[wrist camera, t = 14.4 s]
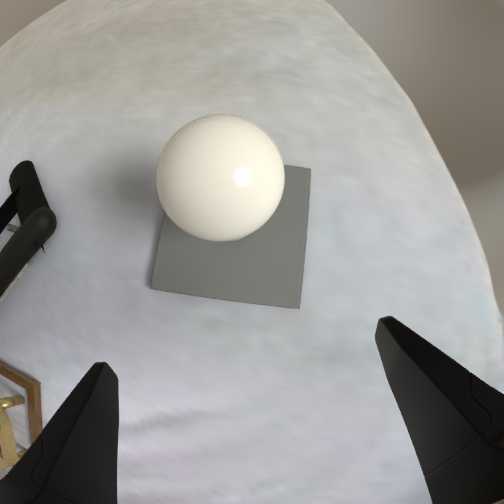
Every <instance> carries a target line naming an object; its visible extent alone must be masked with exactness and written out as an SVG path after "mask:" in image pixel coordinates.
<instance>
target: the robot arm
mask: <svg viewBox="0 0 504 504" xmlns="http://www.w3.org/2000/svg"><path fill="white" fill-rule="evenodd" d="M375 341H376V344H377V347H378V350H379V354H380V357H381V360H382V363H383V367H384V370H385V374H386V377H387V380H388V382H389V385H390V387H391V390H392V392H393V395H394V397H395V399H396V402H397V404H398V407H399V409H400V412H401V414H402V417H403V419H404V422H405V424H406V427H407V430H408V432H409V435H410V438H411V440H412V443H413V446H414V448H415V451H416V454H417V457H418V460H419V463H420V465H421V468H422V471H423V474H424V476H425V477H424V478H425V481H426V484H427V487H428V490H429V493H430V496H431V500H432V503H433V504H504V394H503V393H501V392H499V391H498V390H496V389H494V388H493V387H491V386H489V385H488V384H487V383H485V382H484V381H482V380H481V379H479V378H478V377H477V376H475V375H474V374H473V373H471V372H469V371H468V370H467V369H466V368H464V367H463V366H461V365H460V364H459V363H457V362H456V361H455V360H453V359H452V358H450V357H449V356H448V355H446V354H445V353H444V352H442V351H441V350H439V349H438V348H437V347H435V346H434V345H432V344H431V343H430V342H428V341H427V340H425V339H424V338H422V337H421V336H420V335H418V334H417V333H415V332H414V331H413V330H411V329H410V328H408V327H407V326H405V325H404V324H403V323H401V322H400V321H398V320H397V319H395V318H394V317H392V316H386V317H383V318H380V319H379V320H378V324H377V329H376V333H375ZM118 430H119V394H118V377H117V375H116V374H115V373H114V371H113V370H112V369H111V367H110V366H109V365H108V364H107V363H106V362H96V363H94V364H93V366H92V367H91V368H90V369H89V371H88V372H87V373H86V374H85V376H84V377H83V378H82V379H81V381H80V382H79V383H78V384H77V386H76V387H75V388H74V389H73V391H72V392H71V393H70V395H69V396H68V397H67V398H66V400H65V401H64V402H63V404H62V405H61V406H60V408H59V409H58V410H57V411H56V413H55V414H54V415H53V417H52V418H51V419H50V421H49V422H48V423H47V425H46V426H45V427H44V429H43V430H42V431H41V434H39V435H38V437H37V438H36V440H35V441H34V442H33V444H32V445H31V446H30V448H29V449H28V450H27V451H26V453H25V454H24V455H23V456H22V457H21V459H20V460H19V461H18V462H17V463H16V464H15V465H14V467H13V468H12V469H11V470H10V471H9V472H8V474H7V475H6V476H5V477H4V478H2V479H1V480H0V504H117V451H118Z"/></svg>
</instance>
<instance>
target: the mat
mask: <svg viewBox="0 0 504 504" xmlns="http://www.w3.org/2000/svg"><path fill="white" fill-rule="evenodd" d="M284 170H285V184H284V190H283V194H282V198H281V200H280V203H279V205H278V207H277V209H276V210H275V212H274V213H273V215H272V216H271V218H270V219H269V220H268V221H267V222H266V223H265V224H264V225H263V226H262V227H260V228H259V229H258V230H256V231H255V232H253V233H251V234H249V235H247V236H246V237H244V238H243V239H241V240H238V241H225V242H214V241H207V240H203V239H199V238H197V237H194V236H192V235H190V234H188V233H186V232H185V231H183V230H182V229H180V228H179V227H178V226H177V225H176V224H175V223H174V222H173V221H172V220H171V219H170V218H169V217H168V215H167V214H166V212H165V214H164V219H163V223H162V228H161V233H160V238H159V243H158V249H157V254H156V260H155V265H154V271H153V277H152V283H151V289H156V290H162V291H168V292H174V293H180V294H187V295H193V296H200V297H207V298H214V299H221V300H229V301H236V302H244V303H252V304H260V305H269V306H277V307H286V308H296V309H300V301H301V292H302V282H303V272H304V261H305V250H306V238H307V225H308V211H309V196H310V179H311V169H310V168H303V167H295V166H287V165H284Z"/></svg>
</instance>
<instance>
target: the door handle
mask: <svg viewBox="0 0 504 504" xmlns="http://www.w3.org/2000/svg"><path fill="white" fill-rule="evenodd" d="M9 182H10V187H11V191H12V194H11V195H10V196H9V197H8V199H7V200H6V201H5V202H4V204H3V205H2V206H1V208H0V234H1V233H2V231H3V230H4V229H5V227H6V226H7V225H8V223H9V222H10V221H11V220H12V218H13V217H14V216H15V215H16V213H18V216H19V219H20V222H21V226H20V227H19V228H18V227H16V226H14V225H11V224H9V225H8V226H7V230H8V231H12V232H15V234H14V235H13V236H12V237H11V239H10V240H9V241H8V243H7V244H6V245H5V246H4V248H3V249H2V250H1V252H0V303H1V302H2V300H3V299H4V298H5V296H6V295H7V294H8V292H9V291H10V290H11V288H12V287H13V286H14V284H15V283H16V282H17V280H18V279H19V278H20V277H21V275H22V274H23V273H24V272H25V270H26V269H27V268H28V267H29V264H28V261H29V260H30V259H31V258H32V257H33V255H34V254H35V253H36V252H37V251H38V250H39V248H40V247H42V249H43V251H44V248H43V244H44V243H45V242H46V241H47V239H48V238H49V237H50V236H51V235H52V234H53V233H54V231H55V228H56V223H57V222H56V217H55V214H54V213H53V211H52V210H50V208H49V205H48V203H47V200H46V198H45V195H44V193H43V190H42V187H41V185H40V182H39V179H38V177H37V174H36V171H35V168H34V165H33V163H32V162H31V161H28V160H26V161H23V162H21V163H19V164H18V165H17V166H16V167H15V168H14V170H13V171H12V173H11V175H10V180H9ZM44 253H45V252H44Z"/></svg>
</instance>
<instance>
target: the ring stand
mask: <svg viewBox="0 0 504 504" xmlns="http://www.w3.org/2000/svg"><path fill="white" fill-rule="evenodd" d="M0 374H1V375H3V376H4V377H6V378H8V379H9V380H11V381H13V382H14V383H16V384H18V385H19V386H21V387H23V388H25V389H27V394H28V411H29V423H30V432H31V440H32V444H33V442H34V441H35V440H36V438H37V437H38V435H39V434H41V431H42V430H43V428H42V415H41V394H40V382H38V381H36V380H34V379H32V378H30V377H28V376H26V375H24V374H23V373H21V372H19V371H17V370H15V369H14V368H12V367H10V366H8V365H7V364H5V363H3V362H1V361H0ZM21 404H24V398H23V396H22V395H16V396H12V397H7V398H3V399H0V445H1V446H0V457H1V458H2V459H1V460H0V470H3V469H5V468H6V467H8V466H13V467H14V465H15V464H16V463H17V462H18V461H19V460H20V459H21V457H22V456H23V455H24V454H25V453H26V451H27V449H24V450H22V451H19V452H17V453H16V447H15V441H14V435H13V427H12V423H11V421H10V420H9V418H8V416H7V414H6V412H5V410H4V409H6V408H10V407H13V406H17V405H21Z"/></svg>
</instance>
